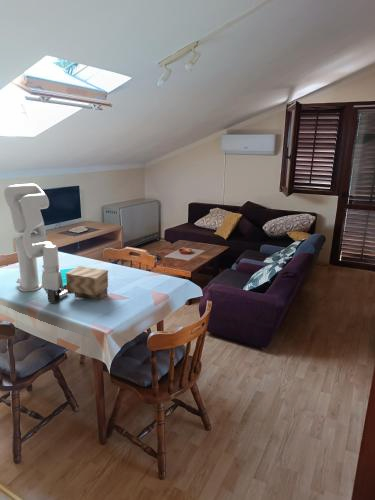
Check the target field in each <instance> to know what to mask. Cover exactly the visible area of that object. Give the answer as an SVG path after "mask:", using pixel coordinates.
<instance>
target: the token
mask: <svg viewBox="0 0 375 500" xmlns="http://www.w3.org/2000/svg"><path fill="white" fill-rule="evenodd" d="M74 300H75V301H78V302H79V301H84V300H85V297H84V295H75V296H74Z"/></svg>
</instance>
